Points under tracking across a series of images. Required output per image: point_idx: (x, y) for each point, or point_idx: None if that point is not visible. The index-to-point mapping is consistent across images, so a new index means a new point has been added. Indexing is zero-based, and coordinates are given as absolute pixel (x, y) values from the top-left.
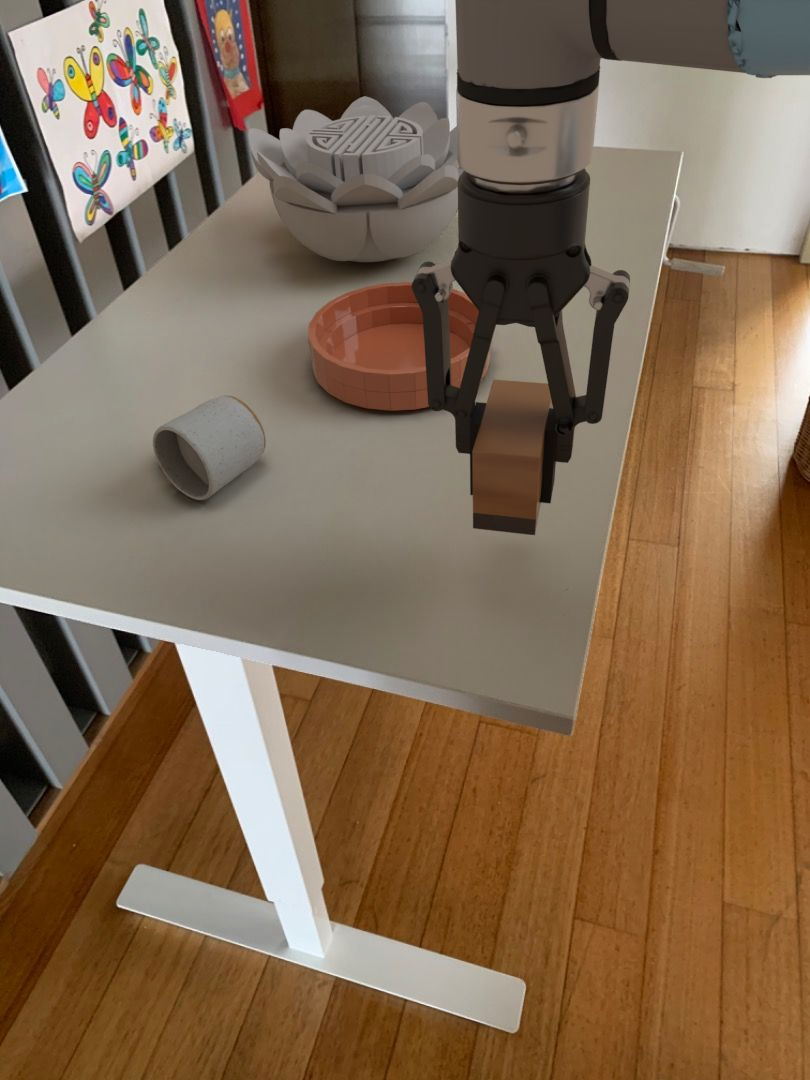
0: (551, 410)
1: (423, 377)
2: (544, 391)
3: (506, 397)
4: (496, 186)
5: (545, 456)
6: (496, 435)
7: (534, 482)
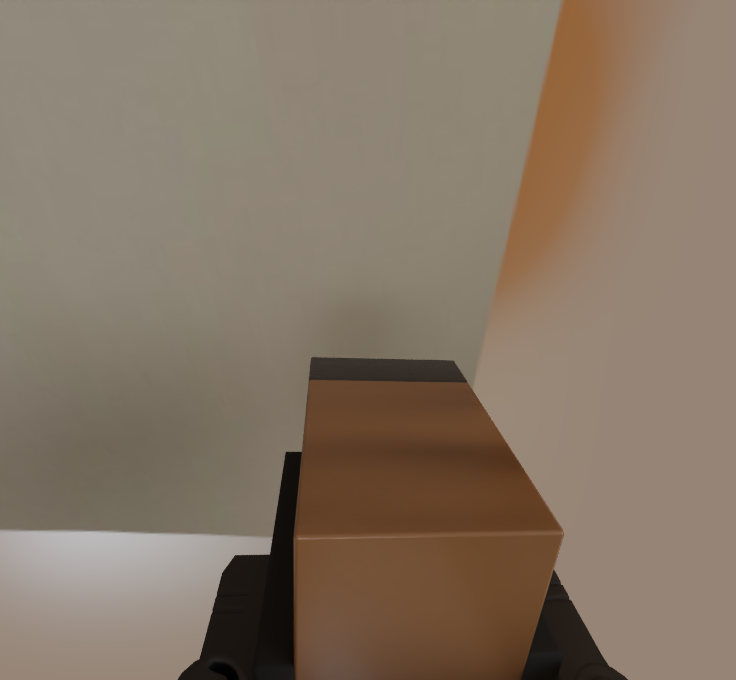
0: (534, 666)
1: None
2: (520, 581)
3: (368, 634)
4: None
5: None
6: None
7: None
